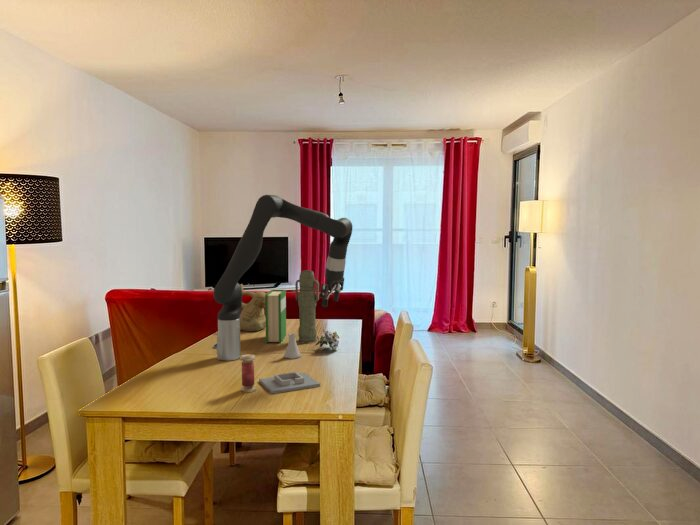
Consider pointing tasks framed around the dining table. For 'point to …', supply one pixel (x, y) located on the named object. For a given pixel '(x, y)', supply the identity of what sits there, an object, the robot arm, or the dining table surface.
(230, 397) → the dining table surface
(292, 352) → the flask
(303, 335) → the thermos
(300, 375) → the board
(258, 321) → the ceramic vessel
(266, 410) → the dining table surface
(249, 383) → the bobbin
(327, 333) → the passion flower
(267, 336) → the hardback book
